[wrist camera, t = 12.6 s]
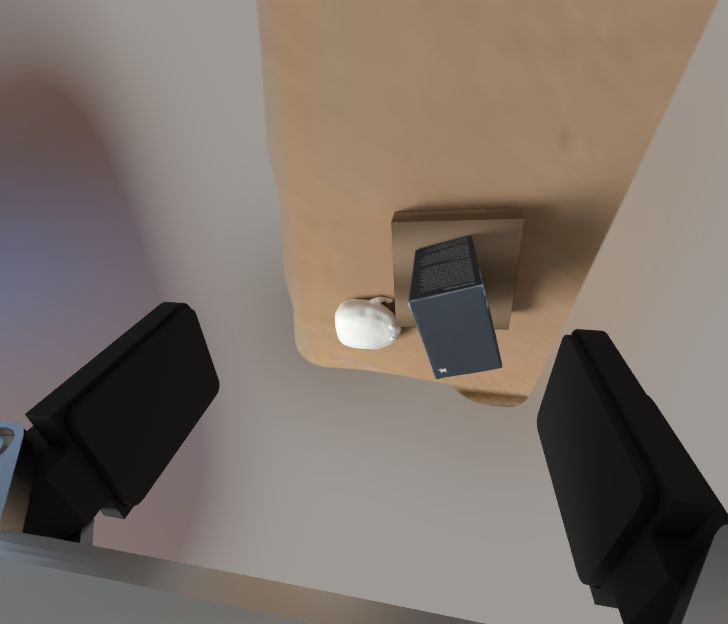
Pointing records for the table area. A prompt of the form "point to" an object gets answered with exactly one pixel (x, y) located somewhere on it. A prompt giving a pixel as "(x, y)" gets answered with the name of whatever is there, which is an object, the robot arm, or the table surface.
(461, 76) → the table surface
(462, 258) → the box
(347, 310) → the garlic
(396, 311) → the walnut block
